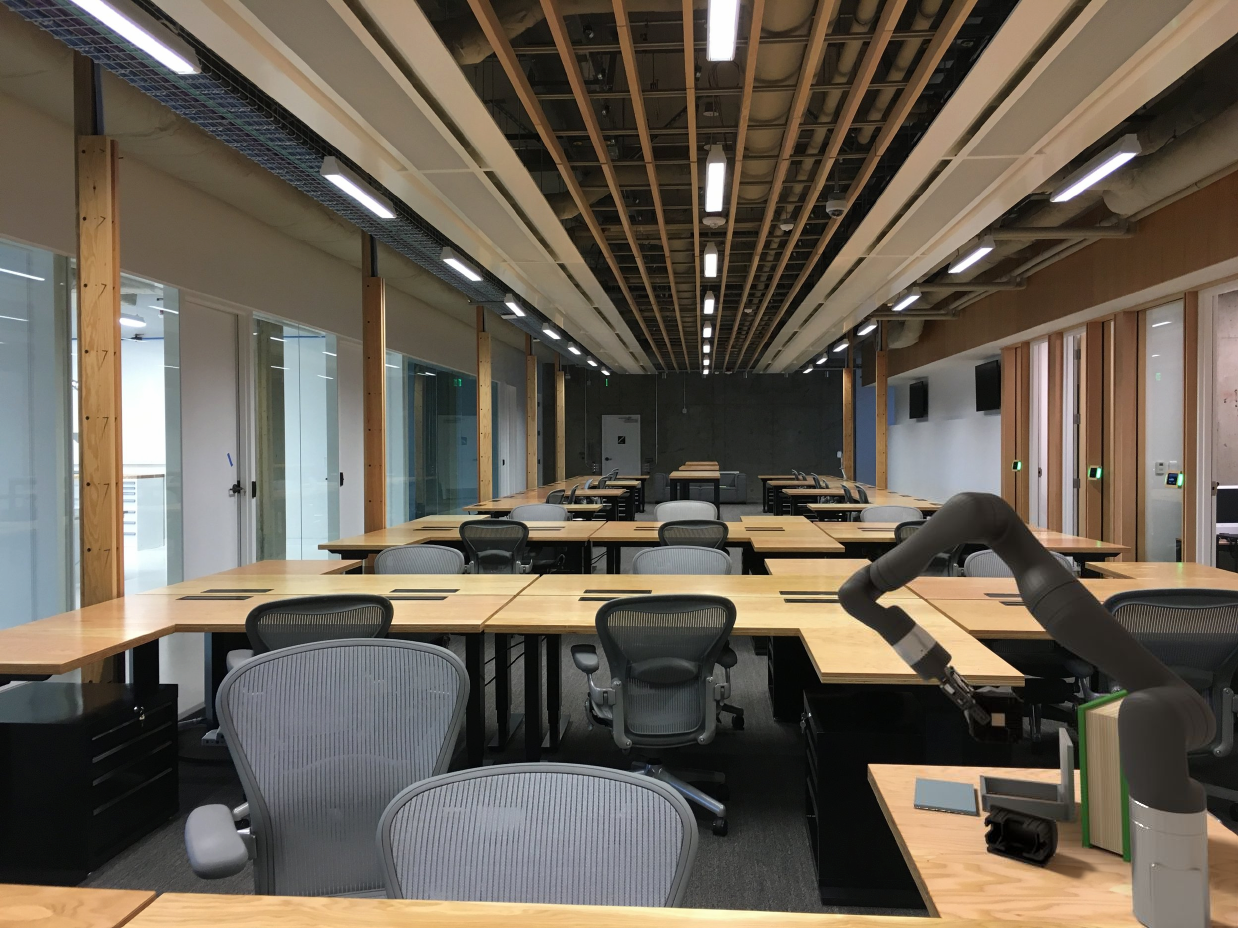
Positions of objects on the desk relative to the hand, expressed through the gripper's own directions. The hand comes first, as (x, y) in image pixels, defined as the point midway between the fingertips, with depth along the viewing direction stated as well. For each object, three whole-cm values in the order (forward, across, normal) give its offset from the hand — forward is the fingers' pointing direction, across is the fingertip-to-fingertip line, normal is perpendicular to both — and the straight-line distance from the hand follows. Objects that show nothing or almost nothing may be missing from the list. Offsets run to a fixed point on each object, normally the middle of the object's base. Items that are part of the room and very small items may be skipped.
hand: (986, 716), depth 157 cm
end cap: (+15, -21, +9) cm, 27 cm away
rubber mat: (+6, -1, +17) cm, 18 cm away
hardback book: (+27, -10, -4) cm, 29 cm away
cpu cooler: (+5, +1, +3) cm, 5 cm away
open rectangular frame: (+16, 0, +7) cm, 18 cm away
